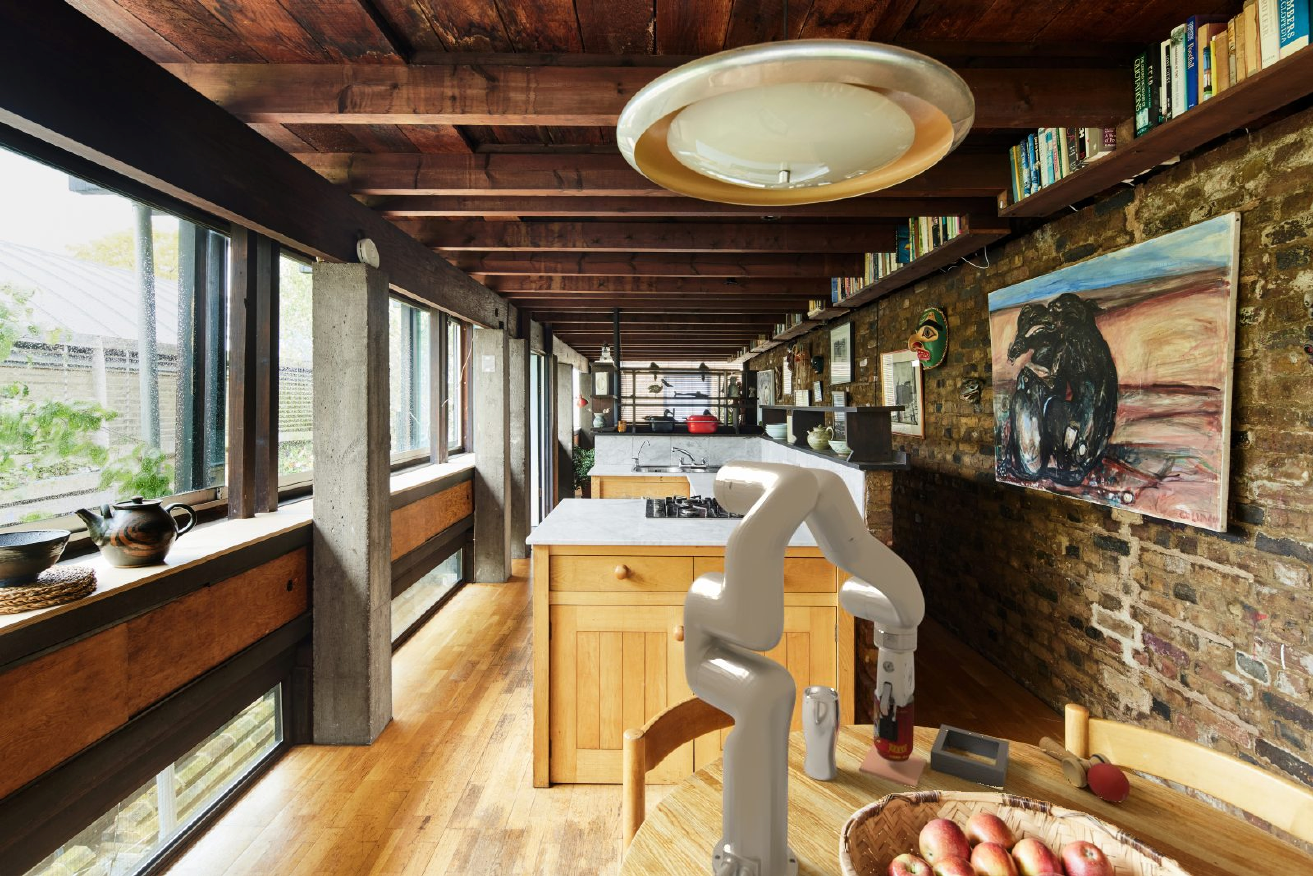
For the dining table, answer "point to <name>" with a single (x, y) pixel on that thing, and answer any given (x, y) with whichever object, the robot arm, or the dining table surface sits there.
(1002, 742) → the collar
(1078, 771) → the kendama
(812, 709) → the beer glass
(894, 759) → the soda can
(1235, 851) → the dining table surface
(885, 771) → the tile
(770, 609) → the robot arm
